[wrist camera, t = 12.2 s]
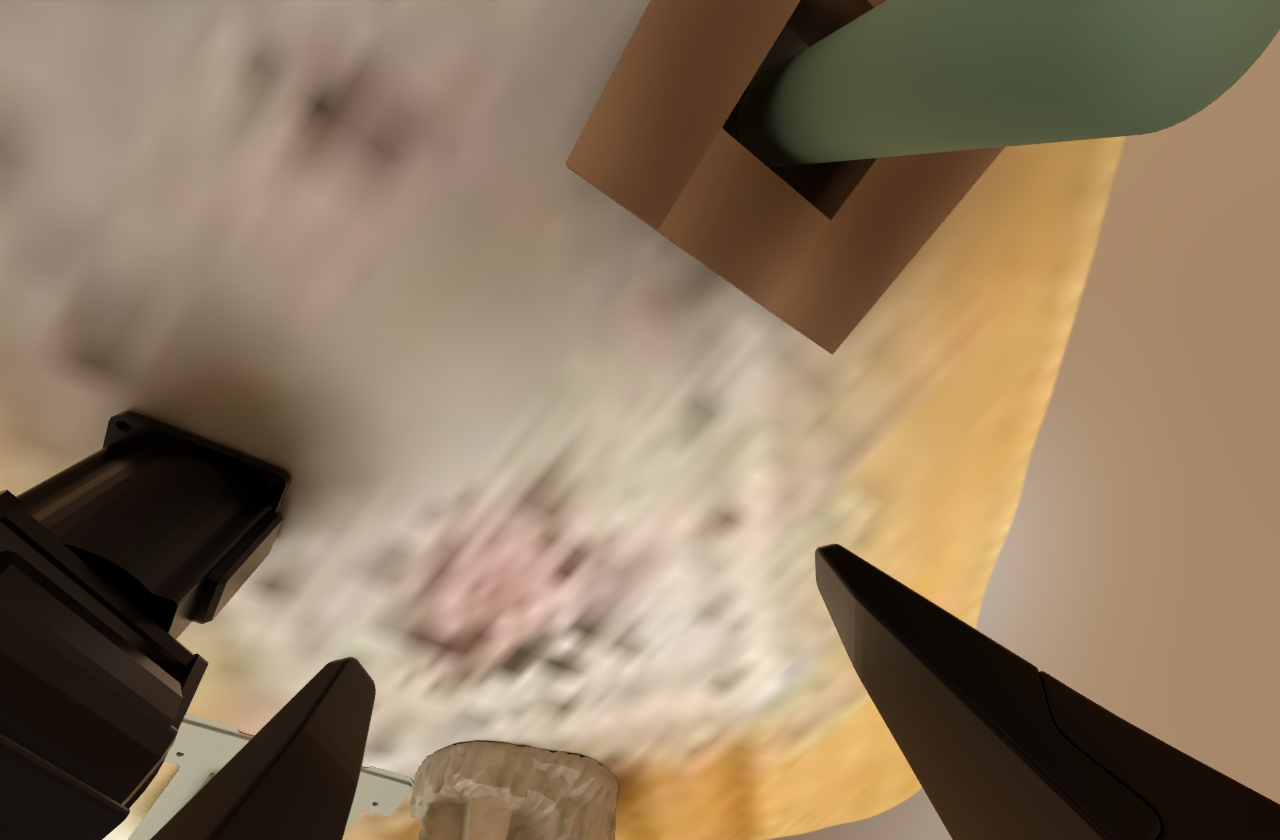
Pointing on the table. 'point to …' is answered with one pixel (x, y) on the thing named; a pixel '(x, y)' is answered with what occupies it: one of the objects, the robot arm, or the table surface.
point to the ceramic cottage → (513, 795)
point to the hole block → (759, 167)
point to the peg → (1000, 75)
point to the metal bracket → (217, 746)
